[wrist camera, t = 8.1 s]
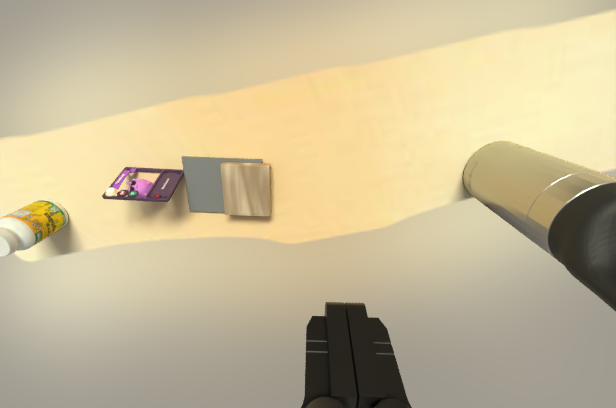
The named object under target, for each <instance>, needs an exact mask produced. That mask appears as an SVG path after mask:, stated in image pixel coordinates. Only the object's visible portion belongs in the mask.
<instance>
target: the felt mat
mask: <svg viewBox="0 0 616 408" xmlns="http://www.w3.org/2000/svg"><path fill="white" fill-rule="evenodd" d="M223 162H235V163H262V159H237V158H211V157H184V156H182V163H183V170H184V176H185V183H186V189H187V196H188V203H189V209H190V211H197V212H224V213H225V208H224V198H223V187H222V177H221V166H220V165H221V164H222V163H223Z"/></svg>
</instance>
